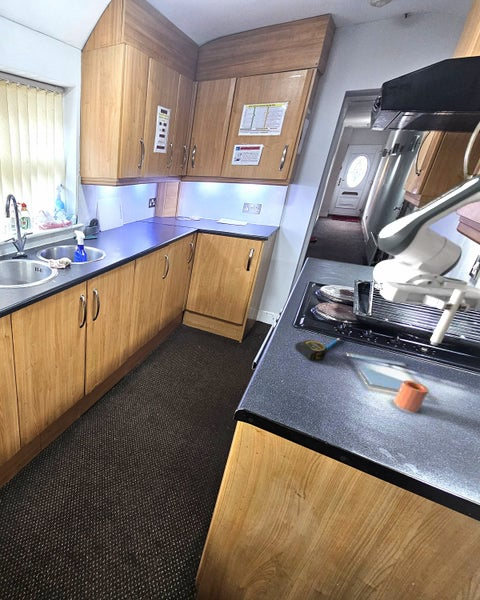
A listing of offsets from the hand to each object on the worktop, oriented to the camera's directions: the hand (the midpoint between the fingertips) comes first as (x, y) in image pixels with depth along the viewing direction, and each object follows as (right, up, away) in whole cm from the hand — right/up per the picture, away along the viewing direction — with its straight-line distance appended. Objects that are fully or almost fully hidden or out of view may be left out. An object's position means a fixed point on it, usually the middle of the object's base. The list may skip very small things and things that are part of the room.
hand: (455, 307), depth 74 cm
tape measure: (-16, -15, +24) cm, 33 cm away
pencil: (-7, -14, +29) cm, 33 cm away
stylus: (0, -9, +5) cm, 10 cm away
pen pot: (-7, -24, +4) cm, 25 cm away
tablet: (-1, -19, +16) cm, 25 cm away
